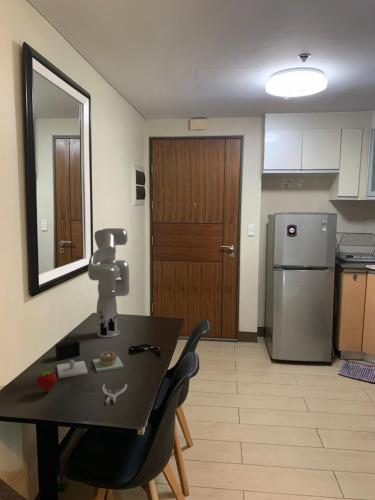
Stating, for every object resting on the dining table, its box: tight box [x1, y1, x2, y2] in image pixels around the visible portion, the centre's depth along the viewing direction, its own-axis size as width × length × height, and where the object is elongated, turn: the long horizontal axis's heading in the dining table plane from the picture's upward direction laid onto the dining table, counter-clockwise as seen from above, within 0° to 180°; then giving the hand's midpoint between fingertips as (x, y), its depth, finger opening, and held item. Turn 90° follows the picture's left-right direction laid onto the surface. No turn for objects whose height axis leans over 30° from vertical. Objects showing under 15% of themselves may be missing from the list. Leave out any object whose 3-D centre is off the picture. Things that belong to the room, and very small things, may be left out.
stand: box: [56, 359, 89, 379], centre depth 166 cm, size 12×12×4 cm
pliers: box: [101, 383, 128, 405], centre depth 146 cm, size 10×2×15 cm
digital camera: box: [55, 339, 81, 361], centre depth 180 cm, size 10×5×7 cm, turn 127°
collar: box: [99, 350, 117, 366], centre depth 172 cm, size 7×7×4 cm
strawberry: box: [36, 370, 58, 393], centre depth 145 cm, size 6×8×10 cm
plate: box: [92, 354, 125, 373], centre depth 172 cm, size 12×12×5 cm
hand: (107, 332), depth 170 cm, fingers open, 5 cm apart
